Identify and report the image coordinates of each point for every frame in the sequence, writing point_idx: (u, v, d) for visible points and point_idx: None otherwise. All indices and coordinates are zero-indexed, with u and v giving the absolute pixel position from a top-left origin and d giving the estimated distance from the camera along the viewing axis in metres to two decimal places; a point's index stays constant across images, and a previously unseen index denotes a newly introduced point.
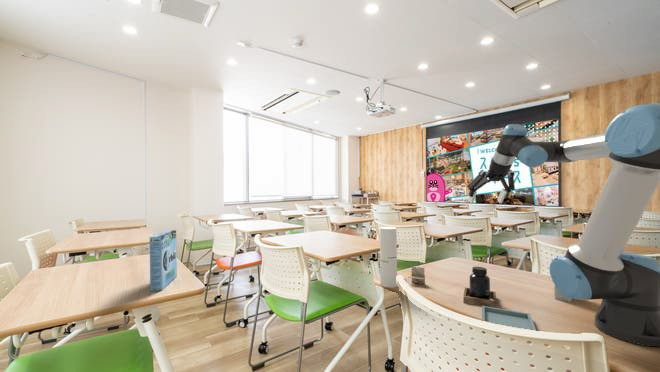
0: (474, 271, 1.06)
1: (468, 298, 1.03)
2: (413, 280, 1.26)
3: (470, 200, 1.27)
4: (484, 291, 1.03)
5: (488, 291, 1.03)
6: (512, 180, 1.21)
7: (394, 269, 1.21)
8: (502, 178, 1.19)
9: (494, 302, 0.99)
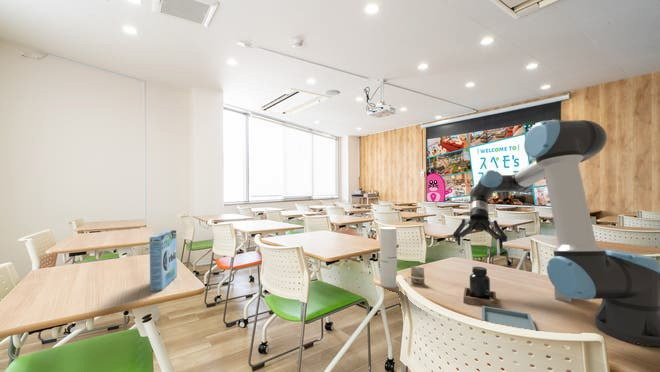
0: (474, 271, 1.05)
1: (468, 298, 1.03)
2: (413, 280, 1.26)
3: (460, 248, 1.19)
4: (484, 291, 1.03)
5: (488, 291, 1.03)
6: (498, 227, 1.19)
7: (394, 269, 1.21)
8: (484, 223, 1.22)
9: (494, 302, 0.99)
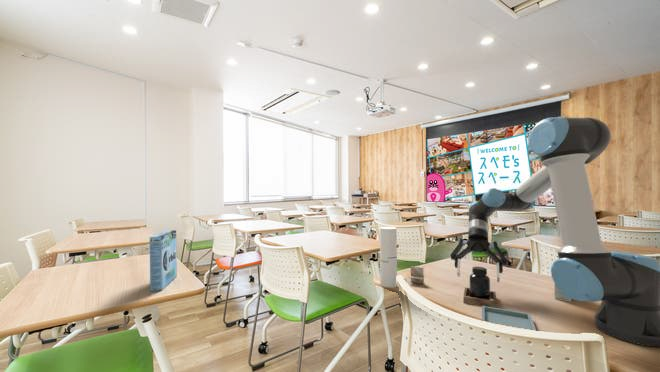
0: (474, 271, 1.06)
1: (468, 298, 1.03)
2: (412, 280, 1.27)
3: (457, 271, 1.12)
4: (484, 291, 1.03)
5: (488, 291, 1.03)
6: (498, 249, 1.12)
7: (394, 269, 1.21)
8: (483, 244, 1.15)
9: (494, 302, 0.99)
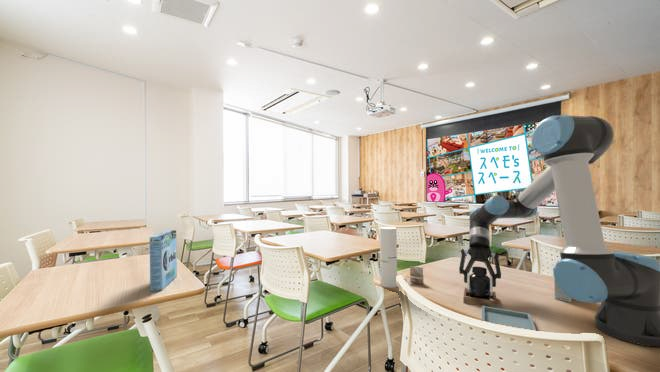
0: (474, 271, 1.05)
1: (468, 298, 1.03)
2: (412, 280, 1.27)
3: (467, 287, 1.05)
4: (484, 290, 1.03)
5: (488, 291, 1.03)
6: (497, 261, 1.08)
7: (394, 269, 1.21)
8: (483, 253, 1.11)
9: (494, 302, 0.99)
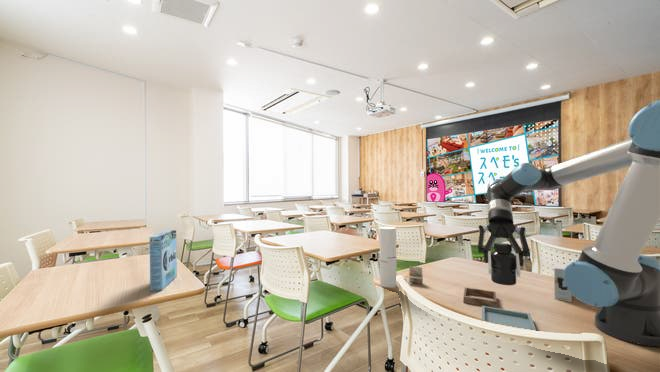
0: (496, 248, 0.88)
1: (468, 298, 1.03)
2: (411, 280, 1.27)
3: (488, 267, 0.88)
4: (509, 270, 0.86)
5: (514, 271, 0.86)
6: (523, 236, 0.90)
7: (394, 269, 1.21)
8: (506, 228, 0.94)
9: (494, 302, 0.99)
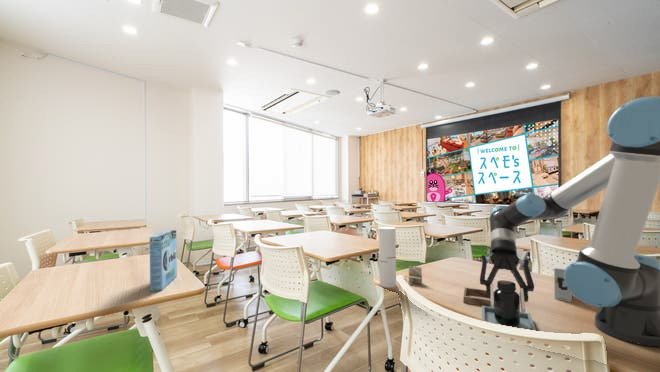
0: (500, 286, 0.87)
1: (468, 298, 1.03)
2: (410, 279, 1.27)
3: None
4: (513, 311, 0.84)
5: (518, 311, 0.85)
6: (527, 270, 0.89)
7: (393, 269, 1.21)
8: (510, 260, 0.92)
9: None
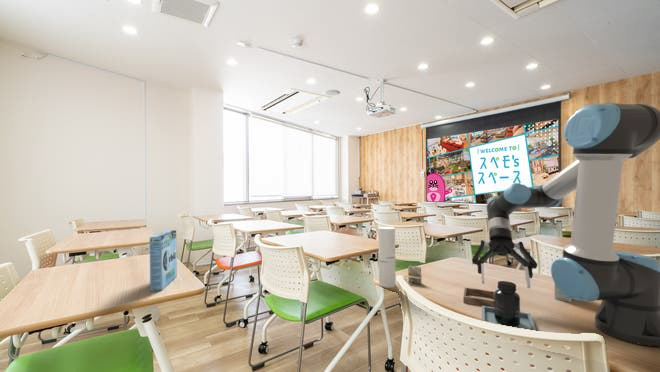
0: (500, 287, 0.87)
1: (468, 298, 1.03)
2: (410, 279, 1.27)
3: None
4: (513, 311, 0.84)
5: (518, 312, 0.85)
6: (525, 251, 1.01)
7: (393, 269, 1.21)
8: (507, 246, 1.04)
9: None
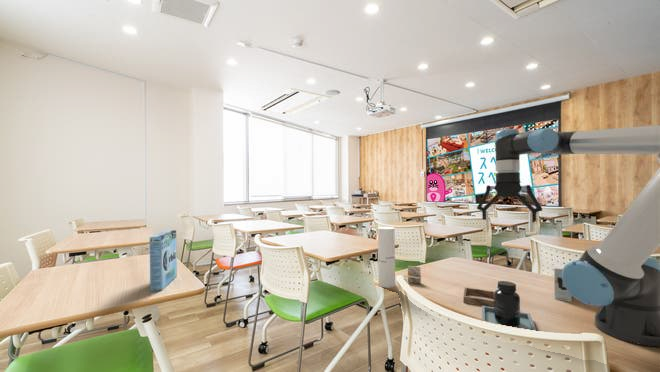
0: (500, 287, 0.87)
1: (468, 298, 1.03)
2: (409, 279, 1.28)
3: (486, 225, 1.07)
4: (513, 311, 0.84)
5: (518, 312, 0.85)
6: (532, 195, 0.99)
7: (392, 269, 1.21)
8: (514, 191, 1.01)
9: None
